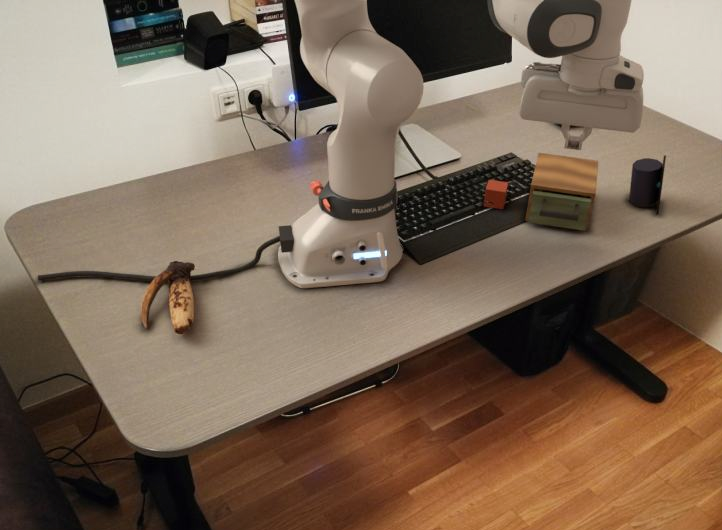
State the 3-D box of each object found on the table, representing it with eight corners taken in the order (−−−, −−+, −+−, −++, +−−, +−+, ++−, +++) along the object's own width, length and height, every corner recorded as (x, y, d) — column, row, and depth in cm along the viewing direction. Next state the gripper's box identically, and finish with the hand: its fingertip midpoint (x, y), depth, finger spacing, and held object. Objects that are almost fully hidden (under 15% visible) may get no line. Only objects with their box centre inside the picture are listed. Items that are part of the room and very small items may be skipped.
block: (503, 209, 138) (505, 192, 135) (483, 206, 138) (485, 189, 136) (505, 199, 141) (508, 182, 138) (486, 197, 141) (488, 179, 139)
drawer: (583, 245, 128) (589, 216, 123) (524, 236, 129) (529, 207, 125) (587, 198, 140) (593, 170, 136) (534, 190, 142) (539, 163, 138)
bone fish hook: (143, 282, 118) (142, 349, 105) (135, 259, 115) (134, 325, 102) (198, 273, 120) (204, 337, 107) (192, 250, 116) (198, 314, 103)
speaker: (670, 203, 141) (678, 156, 134) (657, 215, 138) (666, 168, 131) (635, 193, 145) (642, 147, 138) (622, 205, 142) (629, 159, 135)
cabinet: (587, 230, 133) (595, 193, 128) (525, 221, 135) (531, 184, 129) (590, 196, 143) (598, 160, 137) (532, 187, 145) (538, 152, 139)
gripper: (521, 67, 109) (511, 148, 118) (652, 82, 106) (631, 163, 115) (525, 54, 114) (515, 132, 123) (652, 67, 110) (631, 147, 120)
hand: (572, 147), depth 119 cm, fingers closed
